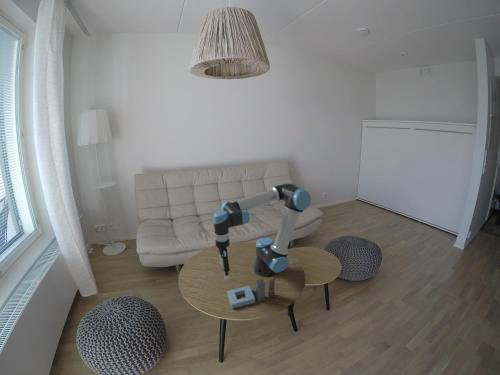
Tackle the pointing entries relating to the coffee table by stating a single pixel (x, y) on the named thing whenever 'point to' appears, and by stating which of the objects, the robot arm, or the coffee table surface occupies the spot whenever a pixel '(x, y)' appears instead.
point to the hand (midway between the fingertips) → (224, 271)
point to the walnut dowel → (271, 287)
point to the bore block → (243, 301)
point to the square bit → (260, 290)
